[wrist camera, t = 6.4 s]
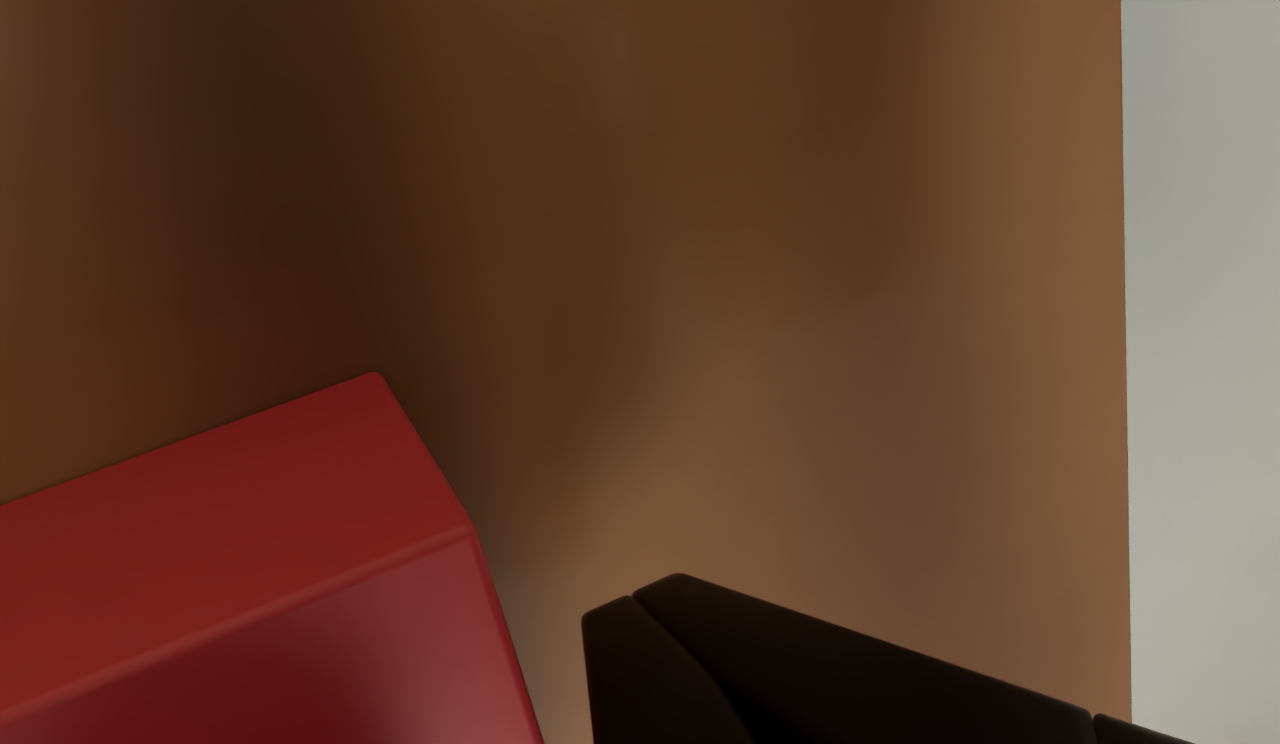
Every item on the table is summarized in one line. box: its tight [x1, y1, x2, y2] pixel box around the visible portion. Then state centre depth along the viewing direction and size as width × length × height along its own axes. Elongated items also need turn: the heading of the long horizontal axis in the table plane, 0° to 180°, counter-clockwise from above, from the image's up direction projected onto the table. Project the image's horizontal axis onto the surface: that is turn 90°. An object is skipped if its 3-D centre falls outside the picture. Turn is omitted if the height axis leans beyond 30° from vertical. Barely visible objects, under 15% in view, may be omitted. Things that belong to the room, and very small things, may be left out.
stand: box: [0, 0, 1132, 744], centre depth 11 cm, size 15×12×4 cm
